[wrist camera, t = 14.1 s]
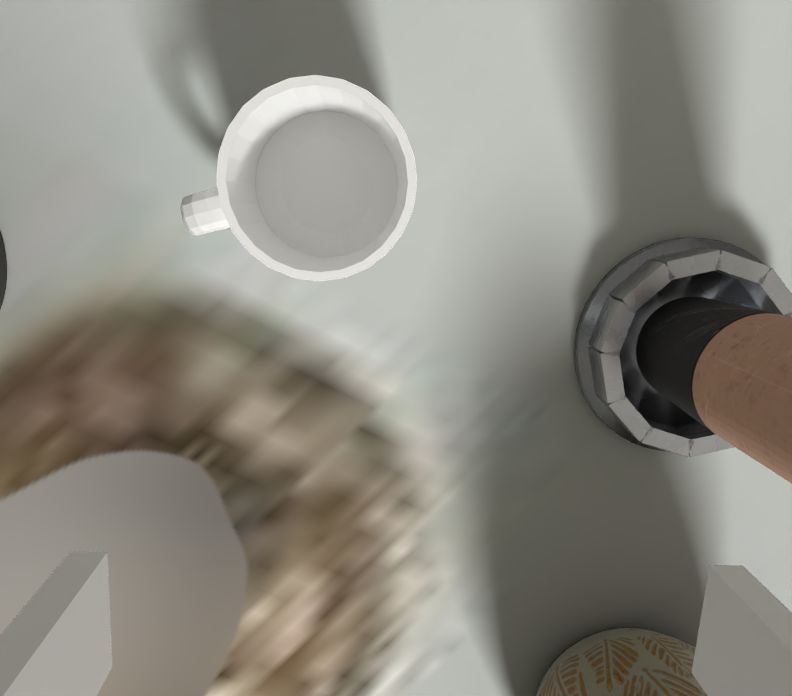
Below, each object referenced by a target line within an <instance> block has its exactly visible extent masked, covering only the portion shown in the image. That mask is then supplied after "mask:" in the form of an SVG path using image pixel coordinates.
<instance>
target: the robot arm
mask: <svg viewBox="0 0 792 696" xmlns="http://www.w3.org/2000/svg"><path fill="white" fill-rule="evenodd" d="M6 281H7V263H6V255H5V249H4V245H3V241H2V237H1V234H0V309H1V306H2V303H3V299H4V295H5V290H6ZM109 601H110V600H109V578H108V555H107V552H72V551H70V552H69V553H68V555H67V556H66V557H65V558H64V559H63V561H62V562H61V563H60V564H59V566H58V567H57V568H56V569H55V570H54V571H53V573H52V574H51V575H50V576H49V578H48V579H47V580H46V581H45V582H44V583H43V585H42V586H41V587H40V588H39V589H38V591H37V592H36V593H35V594H34V595H33V597H32V598H31V599H30V600H29V601H28V603H27V604H26V605H25V606H24V607H23V609H22V610H21V611H20V612H19V613H18V615H17V616H16V617H15V618H14V619H13V621H12V622H11V623H10V624H9V626H8V627H7V628H6V629H5V630H4V631H3V633H2V634H1V635H0V696H97V694H98V692H99V690H100V689H101V687H102V685H103V683H104V681H105V679H106V677H107V675H108V673H109V672H110V670H111V668H112V645H111V623H110V602H109ZM691 673H692V674H693V676H694V677H695V679H696V680H697V681H698V683H699V684H700V686H701V687H702V689H703V690H704V691H705V693H706V694H707V696H792V612H791V611H790V610H789V609H788V608H786V607H785V606H784V605H783V604H782V603H781V602H780V601H779V600H778V599H777V598H776V597H775V596H774V595H773V594H772V593H771V592H770V591H769V590H768V589H767V588H766V587H765V586H763V585H762V584H761V583H760V582H759V581H758V580H757V579H756V578H755V577H754V576H753V575H752V574H751V573H750V572H749V571H748V570H747V569H746V568H745V567H744V566H731V565H710V566H709V572H708V578H707V584H706V590H705V596H704V601H703V607H702V613H701V619H700V625H699V631H698V637H697V643H696V649H695V655H694V661H693V667H692V672H691Z"/></svg>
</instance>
